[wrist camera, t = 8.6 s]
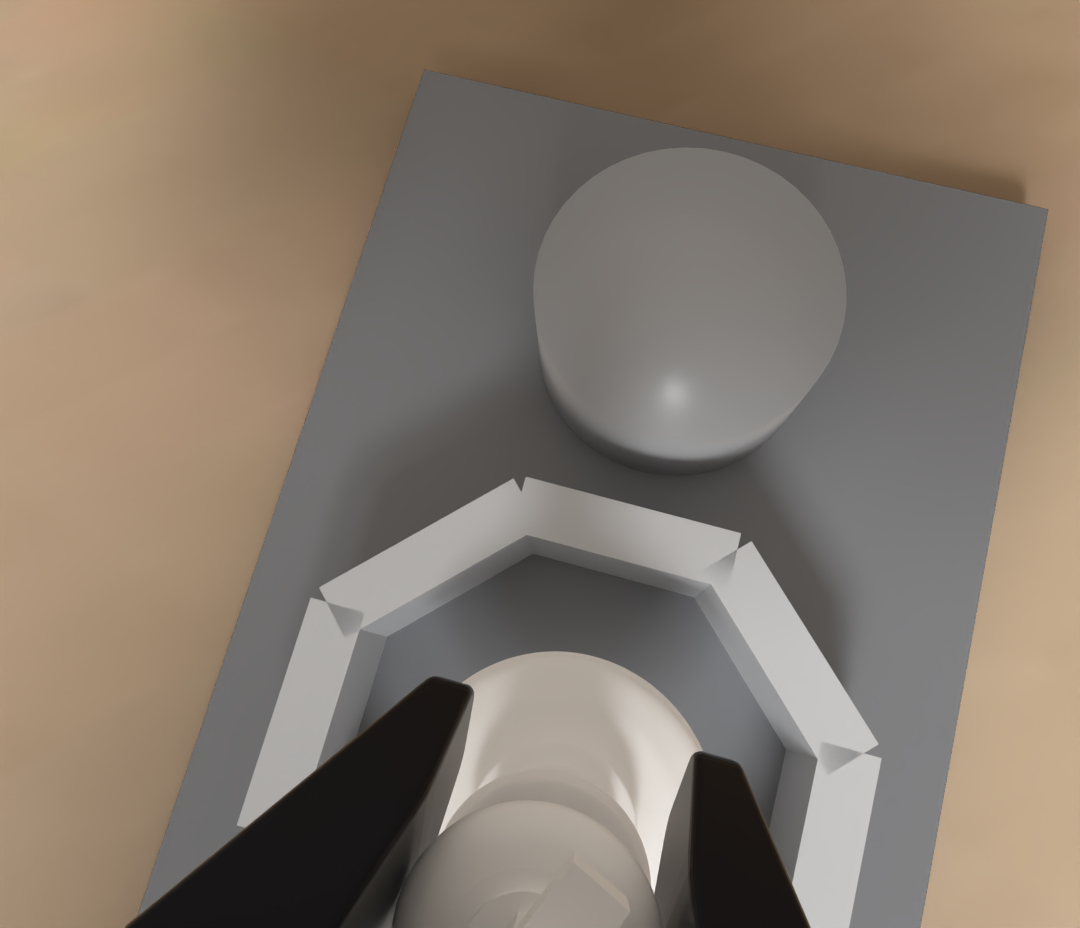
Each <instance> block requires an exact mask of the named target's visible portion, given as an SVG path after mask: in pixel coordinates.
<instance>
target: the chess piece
mask: <svg viewBox="0 0 1080 928" xmlns="http://www.w3.org/2000/svg"><path fill="white" fill-rule="evenodd" d="M462 683H464V684H468V685H470V686H471V687H472V688H473V690H474V701H473V707H472V712H471V718H470V723H469V729H468V734H467V740H466V745H465V750H464V755H463V759H462V763H461V766H460V770H459V773H458V776H457V779H456V782H455V785H454V788H453V791H452V795H451V798H450V801H449V804H448V807H447V810H446V813H445V816H444V819H443V822H442V825H441V828H440V832H439V835H438V837H437V838H436V839H435V840H434V841H433V842H432V843H431V844H430V845H429V846H428V847H427V848H426V850H425V851H424V852H423V853H422V855H421V856H420V857H419V859H418V860H417V862H416V863H415V865H414V866H413V868H412V870H411V871H410V873H409V875H408V877H407V879H406V881H405V883H404V885H403V888H402V890H401V893H400V895H399V898H398V901H397V905H396V908H395V912H394V917H393V922H392V928H663V926H662V920H661V915H660V911H659V907H658V904H657V901H656V898H655V895H654V892H655V887H656V881H657V876H658V870H659V865H660V859H661V853H662V848H663V842H664V837H665V831H666V827H667V823H668V819H669V815H670V812H671V809H672V806H673V803H674V800H675V798H676V795H677V792H678V790H679V787H680V784H681V782H682V779H683V776H684V773H685V771H686V768H687V765H688V763H689V760H690V758H691V756H692V755H693V754H694V753H695V752H698V751H703V750H702V748H701V745H700V743H699V742H698V740H697V738H696V736H695V734H694V733H693V731H692V729H691V728H690V726H689V725H688V723H687V722H686V720H685V719H684V718H683V716H682V715H681V714H680V712H679V711H678V710H677V709H676V708H675V706H674V705H673V704H672V703H671V702H670V701H669V700H668V699H667V698H666V697H665V696H664V695H663V694H662V693H661V692H659V691H658V690H657V689H656V688H655V687H654V686H652V685H651V684H650V683H648V682H647V681H646V680H644V679H643V678H641V677H640V676H638V675H636V674H635V673H633V672H631V671H629V670H628V669H626V668H624V667H622V666H619V665H617V664H615V663H612V662H610V661H607V660H604V659H601V658H598V657H594V656H590V655H586V654H580V653H573V652H560V651H549V652H537V653H530V654H524V655H520V656H516V657H512V658H509V659H506V660H503V661H500V662H498V663H495V664H493V665H491V666H488V667H486V668H484V669H482V670H481V671H479V672H477V673H475V674H474V675H472V676H471V677H469V678H468V679H466V680H465V681H463V682H462Z"/></svg>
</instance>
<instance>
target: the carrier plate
mask: <svg viewBox="0 0 1080 928" xmlns="http://www.w3.org/2000/svg"><path fill="white" fill-rule="evenodd" d="M1047 214H1048V209H1044V208H1040V207H1035V206H1031V205H1026V204H1022V203H1017V202H1013V201H1008V200H1004V199H1000V198H995V197H991V196H986V195H982V194H977V193H973V192H968V191H964V190H959V189H955V188H950V187H946V186H942V185H937V184H933V183H928V182H924V181H919V180H915V179H910V178H906V177H901V176H897V175H893V174H888V173H884V172H879V171H875V170H870V169H866V168H861V167H857V166H852V165H848V164H843V163H839V162H835V161H830V160H826V159H821V158H817V157H812V156H808V155H803V154H799V153H794V152H790V151H785V150H781V149H777V148H772V147H768V146H763V145H759V144H754V143H750V142H745V141H741V140H736V139H732V138H727V137H723V136H719V135H714V134H710V133H705V132H701V131H696V130H692V129H687V128H683V127H678V126H674V125H669V124H665V123H661V122H656V121H652V120H647V119H643V118H638V117H634V116H629V115H625V114H620V113H616V112H611V111H607V110H603V109H598V108H594V107H589V106H585V105H580V104H576V103H571V102H567V101H562V100H558V99H553V98H549V97H545V96H540V95H536V94H531V93H527V92H522V91H518V90H513V89H509V88H504V87H500V86H496V85H491V84H487V83H482V82H478V81H473V80H469V79H464V78H460V77H455V76H451V75H446V74H442V73H438V72H433V71H429V70H424V72H423V75H422V78H421V81H420V84H419V87H418V90H417V93H416V96H415V98H414V101H413V104H412V107H411V110H410V113H409V116H408V119H407V122H406V125H405V128H404V131H403V134H402V137H401V140H400V143H399V146H398V149H397V152H396V155H395V157H394V160H393V163H392V166H391V169H390V172H389V175H388V178H387V181H386V184H385V187H384V190H383V193H382V196H381V199H380V202H379V205H378V208H377V211H376V213H375V216H374V219H373V222H372V225H371V228H370V231H369V234H368V237H367V240H366V243H365V246H364V249H363V252H362V255H361V258H360V261H359V264H358V267H357V270H356V272H355V275H354V278H353V281H352V284H351V287H350V290H349V293H348V296H347V299H346V302H345V305H344V308H343V311H342V314H341V317H340V320H339V323H338V326H337V328H336V331H335V334H334V337H333V340H332V343H331V346H330V349H329V352H328V355H327V358H326V361H325V364H324V367H323V370H322V373H321V376H320V379H319V382H318V385H317V387H316V390H315V393H314V396H313V399H312V402H311V405H310V408H309V411H308V414H307V417H306V420H305V423H304V426H303V429H302V432H301V435H300V438H299V441H298V444H297V446H296V449H295V452H294V455H293V458H292V461H291V464H290V467H289V470H288V473H287V476H286V479H285V482H284V485H283V488H282V491H281V494H280V497H279V500H278V502H277V505H276V508H275V511H274V514H273V517H272V520H271V523H270V526H269V529H268V532H267V535H266V538H265V541H264V544H263V547H262V550H261V553H260V556H259V559H258V561H257V564H256V567H255V570H254V573H253V576H252V579H251V582H250V585H249V588H248V591H247V594H246V597H245V600H244V603H243V606H242V609H241V612H240V615H239V617H238V620H237V623H236V626H235V629H234V632H233V635H232V638H231V641H230V644H229V647H228V650H227V653H226V656H225V659H224V662H223V665H222V668H221V671H220V674H219V676H218V679H217V682H216V685H215V688H214V691H213V694H212V697H211V700H210V703H209V706H208V709H207V712H206V715H205V718H204V721H203V724H202V727H201V730H200V733H199V735H198V738H197V741H196V744H195V747H194V750H193V753H192V756H191V759H190V762H189V765H188V768H187V771H186V774H185V777H184V780H183V783H182V786H181V789H180V791H179V794H178V797H177V800H176V803H175V806H174V809H173V812H172V815H171V818H170V821H169V824H168V827H167V830H166V833H165V836H164V839H163V842H162V845H161V848H160V850H159V853H158V856H157V859H156V862H155V865H154V868H153V871H152V874H151V877H150V880H149V883H148V886H147V889H146V892H145V895H144V898H143V901H142V904H141V907H140V909H139V912H138V915H140V914H141V913H142V912H143V911H144V910H146V909H147V908H148V907H149V906H150V905H152V904H153V903H154V902H155V901H157V900H158V899H159V898H160V897H161V896H163V895H164V894H165V893H166V892H168V891H169V890H170V889H171V888H172V887H174V886H175V885H176V884H177V883H178V882H180V881H181V880H182V879H183V878H185V877H186V876H187V875H188V874H189V873H191V872H192V871H193V870H194V869H196V868H197V867H198V866H199V865H200V864H202V863H203V862H204V861H205V860H207V859H208V858H209V857H210V856H211V855H213V854H214V853H215V852H216V851H217V850H219V849H220V848H221V847H222V846H224V845H225V844H226V843H227V842H228V841H230V840H231V839H232V838H233V837H235V836H236V835H237V834H238V833H239V832H241V831H242V830H243V829H244V828H245V827H247V826H248V825H249V824H250V823H252V822H253V821H254V820H255V819H256V818H258V817H259V816H260V815H261V814H263V813H264V812H265V811H266V810H267V809H269V808H270V807H271V806H272V805H273V804H275V803H276V802H277V801H278V800H280V799H281V798H282V797H283V796H284V795H286V794H287V793H288V792H289V791H291V790H292V789H293V788H294V787H295V786H297V785H298V784H299V783H300V782H301V781H303V780H304V779H305V778H306V777H308V776H309V775H310V774H311V773H312V772H314V771H315V770H316V769H317V768H319V767H320V766H321V765H322V764H323V763H325V762H326V761H327V760H328V759H329V758H331V757H332V756H333V755H334V754H336V753H337V752H338V751H339V750H340V749H342V748H343V747H344V746H345V745H347V744H348V743H349V742H350V741H351V740H353V739H354V738H355V737H356V736H357V735H359V734H360V733H361V732H362V731H364V730H365V729H366V728H367V727H368V726H370V725H371V724H372V723H373V722H375V721H376V720H377V719H378V718H379V717H381V716H382V715H383V714H384V713H386V712H387V711H388V710H389V709H390V708H392V707H393V706H394V705H395V704H396V703H398V702H399V701H400V700H401V699H403V698H404V697H405V696H406V695H407V694H409V693H410V692H411V691H412V690H414V689H415V688H416V687H417V686H418V685H420V684H421V683H422V682H423V681H425V680H426V679H427V678H429V677H432V676H440V677H443V678H447V679H450V680H454V681H457V682H461V683H462V682H463V681H465V680H466V679H468V678H469V677H471V676H472V675H474V674H475V673H477V672H479V671H481V670H482V669H484V668H486V667H488V666H491V665H493V664H495V663H498V662H500V661H503V660H506V659H509V658H512V657H516V656H520V655H524V654H530V653H537V652H549V651H560V652H573V653H580V654H586V655H590V656H594V657H598V658H601V659H604V660H607V661H610V662H612V663H615V664H617V665H619V666H622V667H624V668H626V669H628V670H629V671H631V672H633V673H635V674H636V675H638V676H640V677H641V678H643V679H644V680H646V681H647V682H648V683H650V684H651V685H652V686H654V687H655V688H656V689H657V690H658V691H659V692H661V693H662V694H663V695H664V696H665V697H666V698H667V699H668V700H669V701H670V702H671V703H672V704H673V705H674V706H675V708H676V709H677V710H678V711H679V712H680V714H681V715H682V716H683V718H684V719H685V720H686V722H687V723H688V725H689V726H690V728H691V729H692V731H693V733H694V734H695V736H696V738H697V740H698V742H699V743H700V745H701V748H702V750H703V752H707V753H710V754H714V755H717V756H721V757H724V758H728V759H731V760H734V761H736V762H738V763H739V764H740V765H741V767H742V768H743V770H744V772H745V774H746V777H747V779H748V781H749V784H750V786H751V789H752V791H753V793H754V796H755V798H756V800H757V803H758V805H759V807H760V810H761V812H762V814H763V817H764V819H765V821H766V824H767V826H768V828H769V831H770V833H771V835H772V838H773V840H774V842H775V845H776V847H777V849H778V852H779V854H780V857H781V859H782V861H783V864H784V866H785V868H786V871H787V873H788V875H789V878H790V880H791V882H792V885H793V887H794V889H795V892H796V894H797V896H798V899H799V901H800V903H801V906H802V908H803V910H804V913H805V915H806V917H807V920H808V922H809V925H810V927H811V928H920V927H921V921H922V915H923V910H924V904H925V899H926V893H927V887H928V882H929V876H930V871H931V865H932V859H933V854H934V848H935V843H936V837H937V831H938V826H939V820H940V814H941V809H942V803H943V798H944V792H945V786H946V781H947V775H948V770H949V764H950V758H951V753H952V747H953V742H954V736H955V730H956V725H957V719H958V713H959V708H960V702H961V697H962V691H963V685H964V680H965V674H966V669H967V663H968V657H969V652H970V646H971V641H972V635H973V629H974V624H975V618H976V612H977V607H978V601H979V596H980V590H981V584H982V579H983V573H984V568H985V562H986V556H987V551H988V545H989V540H990V534H991V528H992V523H993V517H994V511H995V506H996V500H997V495H998V489H999V483H1000V478H1001V472H1002V467H1003V461H1004V455H1005V450H1006V444H1007V439H1008V433H1009V427H1010V422H1011V416H1012V411H1013V405H1014V399H1015V394H1016V388H1017V382H1018V377H1019V371H1020V366H1021V360H1022V354H1023V349H1024V343H1025V338H1026V332H1027V326H1028V321H1029V315H1030V310H1031V304H1032V298H1033V293H1034V287H1035V281H1036V276H1037V270H1038V265H1039V259H1040V253H1041V248H1042V242H1043V237H1044V231H1045V225H1046V220H1047ZM138 915H137V916H138Z"/></svg>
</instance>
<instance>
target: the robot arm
mask: <svg viewBox="0 0 1080 928" xmlns="http://www.w3.org/2000/svg"><path fill="white" fill-rule="evenodd" d="M473 701H474V690H473V688H472V687H471V686H470V685H468V684H464V683H461V682H457V681H454V680H450V679H447V678H443V677H440V676H432V677H429V678H427V679H426V680H425V681H423V682H422V683H421V684H420V685H418V686H417V687H416V688H415V689H414V690H412V691H411V692H410V693H409V694H407V695H406V696H405V697H404V698H403V699H401V700H400V701H399V702H398V703H396V704H395V705H394V706H393V707H392V708H390V709H389V710H388V711H387V712H386V713H384V714H383V715H382V716H381V717H379V718H378V719H377V720H376V721H375V722H373V723H372V724H371V725H370V726H368V727H367V728H366V729H365V730H364V731H362V732H361V733H360V734H359V735H357V736H356V737H355V738H354V739H353V740H351V741H350V742H349V743H348V744H347V745H345V746H344V747H343V748H342V749H340V750H339V751H338V752H337V753H336V754H334V755H333V756H332V757H331V758H329V759H328V760H327V761H326V762H325V763H323V764H322V765H321V766H320V767H319V768H317V769H316V770H315V771H314V772H312V773H311V774H310V775H309V776H308V777H306V778H305V779H304V780H303V781H301V782H300V783H299V784H298V785H297V786H295V787H294V788H293V789H292V790H291V791H289V792H288V793H287V794H286V795H284V796H283V797H282V798H281V799H280V800H278V801H277V802H276V803H275V804H273V805H272V806H271V807H270V808H269V809H267V810H266V811H265V812H264V813H263V814H261V815H260V816H259V817H258V818H256V819H255V820H254V821H253V822H252V823H250V824H249V825H248V826H247V827H245V828H244V829H243V830H242V831H241V832H239V833H238V834H237V835H236V836H235V837H233V838H232V839H231V840H230V841H228V842H227V843H226V844H225V845H224V846H222V847H221V848H220V849H219V850H217V851H216V852H215V853H214V854H213V855H211V856H210V857H209V858H208V859H207V860H205V861H204V862H203V863H202V864H200V865H199V866H198V867H197V868H196V869H194V870H193V871H192V872H191V873H189V874H188V875H187V876H186V877H185V878H183V879H182V880H181V881H180V882H178V883H177V884H176V885H175V886H174V887H172V888H171V889H170V890H169V891H168V892H166V893H165V894H164V895H163V896H161V897H160V898H159V899H158V900H157V901H155V902H154V903H153V904H152V905H150V906H149V907H148V908H147V909H146V910H144V911H143V912H142V913H141V914H140V915H138V916H137V917H136V918H135V919H133V920H132V921H131V922H130V923H129V924H127V925H126V927H125V928H392V922H393V917H394V912H395V908H396V905H397V901H398V898H399V895H400V893H401V890H402V888H403V885H404V883H405V881H406V879H407V877H408V875H409V873H410V871H411V870H412V868H413V866H414V865H415V863H416V862H417V860H418V859H419V857H420V856H421V855H422V853H423V852H424V851H425V850H426V848H427V847H428V846H429V845H430V844H431V843H432V842H433V841H434V840H435V839H436V838H437V837H438V835H439V832H440V828H441V825H442V822H443V819H444V816H445V813H446V810H447V807H448V804H449V801H450V798H451V795H452V791H453V788H454V785H455V782H456V779H457V776H458V773H459V770H460V766H461V763H462V759H463V755H464V750H465V745H466V740H467V734H468V729H469V723H470V718H471V712H472V707H473ZM654 895H655V898H656V901H657V904H658V907H659V911H660V915H661V920H662V926H663V928H811V927H810V925H809V922H808V920H807V917H806V915H805V913H804V910H803V908H802V906H801V903H800V901H799V899H798V896H797V894H796V892H795V889H794V887H793V885H792V882H791V880H790V878H789V875H788V873H787V871H786V868H785V866H784V864H783V861H782V859H781V857H780V854H779V852H778V849H777V847H776V845H775V842H774V840H773V838H772V835H771V833H770V831H769V828H768V826H767V824H766V821H765V819H764V817H763V814H762V812H761V810H760V807H759V805H758V803H757V800H756V798H755V796H754V793H753V791H752V789H751V786H750V784H749V781H748V779H747V777H746V774H745V772H744V770H743V768H742V767H741V765H740V764H739V763H738V762H736V761H734V760H731V759H728V758H724V757H721V756H717V755H714V754H710V753H707V752H703V751H698V752H695V753H694V754H693V755H692V756H691V758H690V760H689V763H688V765H687V768H686V771H685V773H684V776H683V779H682V782H681V784H680V787H679V790H678V792H677V795H676V798H675V800H674V803H673V806H672V809H671V812H670V815H669V819H668V823H667V827H666V831H665V837H664V842H663V848H662V853H661V859H660V865H659V870H658V876H657V881H656V887H655V892H654Z"/></svg>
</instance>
